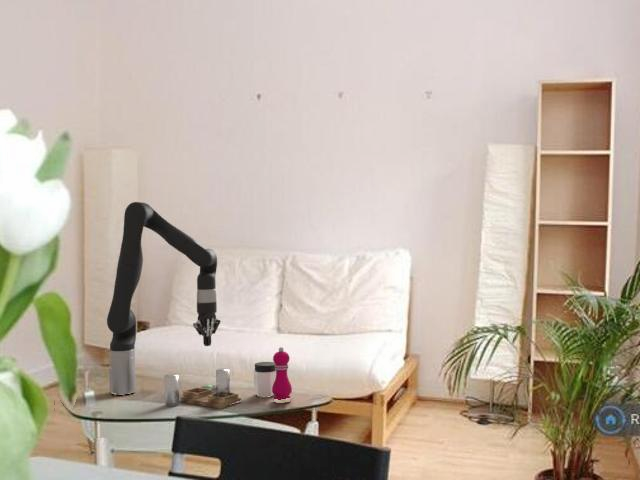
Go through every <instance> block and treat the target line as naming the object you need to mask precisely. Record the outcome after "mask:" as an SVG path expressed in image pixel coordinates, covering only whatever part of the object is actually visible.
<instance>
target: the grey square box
mask: <svg viewBox="0 0 640 480" xmlns="http://www.w3.org/2000/svg"><path fill="white" fill-rule="evenodd" d="M211 385H212V384H211ZM204 386H205V385H202V386H199V387H200V388H204ZM206 389H208V388H206ZM209 389H212V390H213V394H215V393H216V385H212V388H209Z"/></svg>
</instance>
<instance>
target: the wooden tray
mask: <svg viewBox="0 0 640 480" xmlns="http://www.w3.org/2000/svg"><path fill="white" fill-rule="evenodd" d="M200 387H201V386H198V387H193V388H190V389H187V390H183V391H182V396H181V397H180V402H181V403H187V404H193V405H197V406H203V407H209V408H214V409H220V410H221V409H223V408H226V406H227V407H229V406H228V405H230V404H232V403H235V402H237V401H240V400H241V401H242V398H241V397H239V393H236V392H231V391H230V396H227V397H218V396H216V393H215V394H213V390H212V389H206V388H200ZM230 406H231V405H230Z"/></svg>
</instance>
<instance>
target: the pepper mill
mask: <svg viewBox="0 0 640 480" xmlns="http://www.w3.org/2000/svg"><path fill="white" fill-rule="evenodd" d="M272 357H273V358H272V362H274V363H275V364H276V365H275V369H276V379H275V381H274V384H273V387H272V392H273V394H274V395H275V396H273V400H274V399H278V400H281V399H286V398H290V397H291V394H292V392H293V389H292V388H293V387H292V384H291V382H290V380H289V377H288V369H289V364H288V363H290V355H289V353H288V352H286V351H284V347H283V346H280V347H279V348H278V351H277V352H275V353H274V355H273V356H272Z"/></svg>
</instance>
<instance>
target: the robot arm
mask: <svg viewBox="0 0 640 480" xmlns="http://www.w3.org/2000/svg"><path fill="white" fill-rule="evenodd" d="M144 228H146V229H149V230H151V231H153V232H154V233H156V234H157V235H159V237H161V238H162V239H163V240H164V241H165V242H166V243H167V244H168V245H169V246H171V247H172V248H174V249H175V250H177V251H178V252H180V253H181V254H183V255H185V257H187V258H188V259H189V260H190V261H191V262H192V263H193V264H194V265H196V266H198V267H199V273H198V275H197V276H196V277H197V278H196V289H197V290H196V313H197V314H198V316H197V320H196V322H194V323H192V326H193V327H194V329H195V331H196V332H197V333H198V335H199V336H202V337H203V338H202V339H203V346H205V347H209V346H212V335H213V334H214V335H215V334H216V332H217V330H218V328H219V326H220V324H221V320H220V319H217V315H216V313H217V307H218V305H217V290H216V289H217V287H216V285H217V284H216V275H217V268H218V257H217V252H216V251H215V250H214V249H211V248H204V247H203V246H202V245H200V244H198V243H197V240H196V239H194V238H193V237H192V236H190V235H188V234H187V233H185V232H184V231H183V230H181V229H179V228H178V227H177V226H174V225H173V224H171V223H170V222H169V221H168V220H166V219H164V217H162V216H161V214H159V213H158V212H157V211H156V210H155V209H154V208H153V207H152V206H151V205H150V204H148V203H146V202H139V201H135V202H134V201H133V202H130V203H129V204H128V205H127V206H126V208H125V210H124V215H123V233H122V234H123V235H122V241H121V246H120V251H119V255H118V262H117V266H116V273H115V274H116V276H115V281H114V287H113V293H112V294H113V295H112V300H111V303H110V307H109V310H108V313H107V317H106V325H107V328H108V329H109V331H110V332H111V333H112V338H111V341H110V344H109V357H110V359H109V360H110V368H109V370H108V371H109V372H108V373H109V375H108V376H109V377H108V378H109V382H108V383H109V391H110V390H111V392H113V393H116V394H128V393H131V392H133V391H135V389H136V356H135V355H136V353H135V350H136V349H135V348H136V347H135V345H136V340H137V320H136V315H135V312H134V311H133V310H132V309H131V307H132V306H131V305H132V299H133V296H134V295H135V294H134V293H135V291H136V290H137V287H138V285H139V282H140V279H141V275H142V269H143V263H144V256H143V248H142V246H143V245H142V237H143V230H144Z"/></svg>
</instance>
